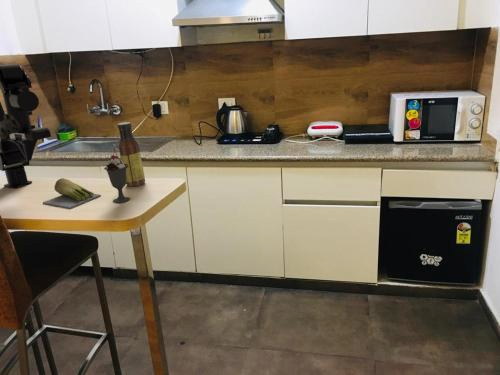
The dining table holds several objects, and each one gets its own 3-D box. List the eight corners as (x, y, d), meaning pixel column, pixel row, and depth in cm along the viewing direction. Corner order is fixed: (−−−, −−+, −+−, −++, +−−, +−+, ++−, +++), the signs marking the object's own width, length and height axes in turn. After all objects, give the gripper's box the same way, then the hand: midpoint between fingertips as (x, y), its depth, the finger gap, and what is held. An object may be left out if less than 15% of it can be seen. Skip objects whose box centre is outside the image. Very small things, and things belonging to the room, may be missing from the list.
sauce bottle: (147, 180, 140) (138, 120, 134) (143, 186, 134) (134, 124, 128) (127, 182, 140) (117, 121, 134) (122, 188, 134) (112, 125, 128)
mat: (42, 203, 125) (42, 202, 125) (73, 191, 134) (73, 190, 134) (70, 208, 119) (70, 207, 119) (100, 196, 128) (100, 194, 128)
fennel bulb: (71, 179, 133) (96, 191, 127) (65, 193, 133) (90, 207, 127) (55, 175, 128) (80, 188, 122) (49, 190, 128) (74, 204, 122)
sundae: (126, 194, 128) (118, 145, 123) (137, 199, 123) (129, 148, 118) (105, 201, 124) (96, 150, 119) (116, 206, 119) (107, 153, 114)
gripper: (-29, 112, 124) (-15, 164, 129) (11, 114, 115) (24, 170, 120) (7, 106, 133) (19, 155, 138) (46, 108, 124) (57, 160, 129)
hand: (28, 160), depth 131 cm, fingers closed
